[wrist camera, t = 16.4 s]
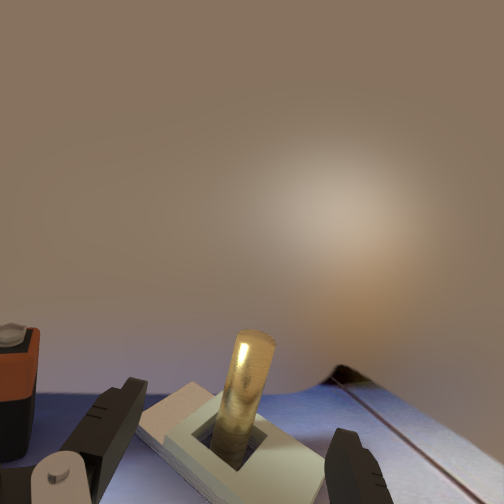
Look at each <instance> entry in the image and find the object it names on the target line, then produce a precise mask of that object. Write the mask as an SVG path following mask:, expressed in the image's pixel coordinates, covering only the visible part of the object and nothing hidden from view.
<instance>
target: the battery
mask: <svg viewBox="0 0 504 504" xmlns="http://www.w3.org/2000/svg"><path fill="white" fill-rule="evenodd" d="M39 341H40V331H39V329H37V328H26V326H23V325H19V324H15V323H9V324H5V325H1V326H0V462H3V461H8V460H13V459H18V458H22V457H23V456H25V454H26V453H27V450H28V445H29V440H30V434H31V428H32V423H33V417H34V406H35V393H36V380H37V366H38V355H39Z"/></svg>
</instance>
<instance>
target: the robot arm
mask: <svg viewBox="0 0 504 504" xmlns="http://www.w3.org/2000/svg"><path fill="white" fill-rule="evenodd" d="M147 384H148V383H147V381H144V380H140V379H136V378H132V377H129V378H128V380H127V381H126V383H125V384H124V385H123V387H122V388H121V389H118V388H113V387H112V388H110V389H108V390H107V391H105V392H104V393H102V394H101V395H100V396H99V397H98V399H97V400H96V401H95V403H94V404H93V406H92V407H91V408H90V409H89V411H88V412H87V413H86V416H84V417H83V419H82V420H81V422H80V423H79V424H78V426H77V427H76V428H75V430H74V431H73V432H72V434H71V435H70V436H69V438H68V439H67V440H66V442H65V443H64V445H63V446H62V447H61V449H60V450H59V451H58V452H56V453H53V454H51V455H49V456H47V457H46V458H44V459H43V460H42V461H40V462H39V463H38V464H37V465H33V466H29V467H19V468H6V469H2V466H1V463H0V504H99V502H100V500H101V498H102V496H103V494H104V492H105V490H106V489H107V487H108V485H109V483H110V481H111V479H112V477H113V475H114V473H115V471H116V469H117V467H118V465H119V463H120V461H121V459H122V457H123V455H124V453H125V451H126V449H127V447H128V445H129V443H130V441H131V439H132V437H133V435H134V433H135V431H136V429H137V426H138V424H139V421H140V418H141V415H142V411H143V406H144V401H145V395H146V390H147ZM324 473H325V479H326V484H327V489H328V494H329V499H330V504H394V503H393V501H392V498H391V495H390V493H389V490H388V489H387V485H386V482H385V480H384V478H383V475H382V472H381V469H380V467H379V464H378V462H377V460H376V459H375V458H374V456H373V455H372V454H371V452H370V451H369V450H368V449H365V448H363V447H362V445H361V442H360V439H359V436H358V434H357V433H356V432H354V431H349V430H345V429H341V428H337V429H336V431H335V433H334V436H333V439H332V441H331V444H330V446H329V449H328V452H327V454H326V457H325V463H324Z"/></svg>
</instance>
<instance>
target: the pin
mask: <svg viewBox="0 0 504 504" xmlns="http://www.w3.org/2000/svg"><path fill="white" fill-rule="evenodd" d="M275 346H276V343H275V341H274V339H273V338H272V337H271V336H269V335H268V334H266V333H264V332H261V331H258V330H252V329H246V330H242V331H240V332H239V333H238V335H237V339H236V343H235V347H234V351H233V355H232V359H231V363H230V367H229V371H228V375H227V379H226V383H225V387H224V391H223V395H222V399H221V403H220V407H219V411H218V415H217V419H216V423H215V427H214V431H213V435H212V439H211V443H210V447H209V450H210V451H212V452H213V453H214V454H215V455H217V456H218V457H219V458H220V459H222V460H223V461H224V462H225V463H227V464H228V465H229V466H230V467H231V468H233V469H234V470H235V471H236V472H237V471H238V470H239V469H240V468H241V466H242V463H243V459H244V456H245V452H246V449H247V445H248V442H249V438H250V435H251V431H252V428H253V424H254V421H255V417H256V414H257V410H258V406H259V403H260V399H261V396H262V392H263V389H264V385H265V382H266V378H267V375H268V371H269V367H270V364H271V361H272V357H273V353H274V350H275Z"/></svg>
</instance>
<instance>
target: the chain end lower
mask: <svg viewBox="0 0 504 504" xmlns="http://www.w3.org/2000/svg"><path fill="white" fill-rule="evenodd" d="M213 397H215V396H214V395H213V394H211V393H210V392H208V391H207V390H205V389H204V388H202V387H201V386H200V385H198V384H197V383H195V382H194V381H191V382H190V383H188V384H187V385H185V386H184V387H182V388H181V389H179V390H177V391H176V392H174V393H172V394H171V395H169V396H168V397H166V398H164V399H163V400H161V401H160V402H158V403H157V404H155V405H153V406H152V407H150V408H149V409H147V410H145V411H144V412H142V415H141V418H140V421H139V424H138V426H137V429H136V431H135V434H136V435H137V436H138V437H139V438H140V439H141V440H143V441H144V442H145V443H146V444H147V445H148V446H149V447H150V448H151V449H152V450H153V451H155V452H156V453H157V454H158V455H159V456H160V457H161V458H162V459H163V460H164V461H166V462H167V463H168V464H169V465H170V466H171V467H172V468H173V469H174V470H175V471H177V472H178V473H179V474H180V475H181V476H182V477H183V478H184V479H185V480H186V481H187V482H189V483H190V484H191V485H192V486H193V487H194V488H195V489H196V490H197V491H198V492H200V493H201V494H202V495H203V496H204V497H205V498H206V499H207V500H208V501H209V502H210V503H212V504H228V503H227V502H226V501H225V500H224V499H223V498H222V497H220V496H219V495H218V494H217V493H216V492H215V491H214V490H212V489H211V488H210V487H209V486H208V485H207V484H206V483H205V482H203V481H202V480H201V479H200V478H199V477H198V476H197V475H195V474H194V473H193V472H192V471H191V470H190V469H189V468H188V467H186V466H185V465H184V464H183V463H182V462H181V461H180V460H178V459H177V458H176V457H175V456H174V455H173V454H172V453H171V452H169V451H168V450H167V449H166V448H165V447H164V446H163V442H164V437H165V434H166V433H167V432H168V431H170V430H171V429H172V428H174V427H175V426H176V425H178V424H179V423H180V422H182V421H183V420H184V419H186V418H187V417H188V416H190V415H191V414H192V413H194V412H195V411H196V410H198V409H199V408H200V407H202V406H203V405H204V404H205V403H207V402H208V401H209V400H211V399H212V398H213ZM215 423H216V422H215ZM215 423H214V424H212V425H211V426H210V427H209V428H208V429H207V430H206V431H204V432H203V433H202V434H201V435H200V436H199V437H197V438H196V439H197V440H198V441H199V442H202V441H204V440H205V439H206V438H207V437H208V436H209V435H210V434H211V433H212V432H213V431H214V427H215ZM261 444H262V443H261V442H259V441H258V440H256V439H255V438H254V437H252V436H251V435H250V438H249V442H248V446H249V447H250V448H252V449H253V450H255V451H256V450H257V448H258V447H259V446H260V445H261Z"/></svg>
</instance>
